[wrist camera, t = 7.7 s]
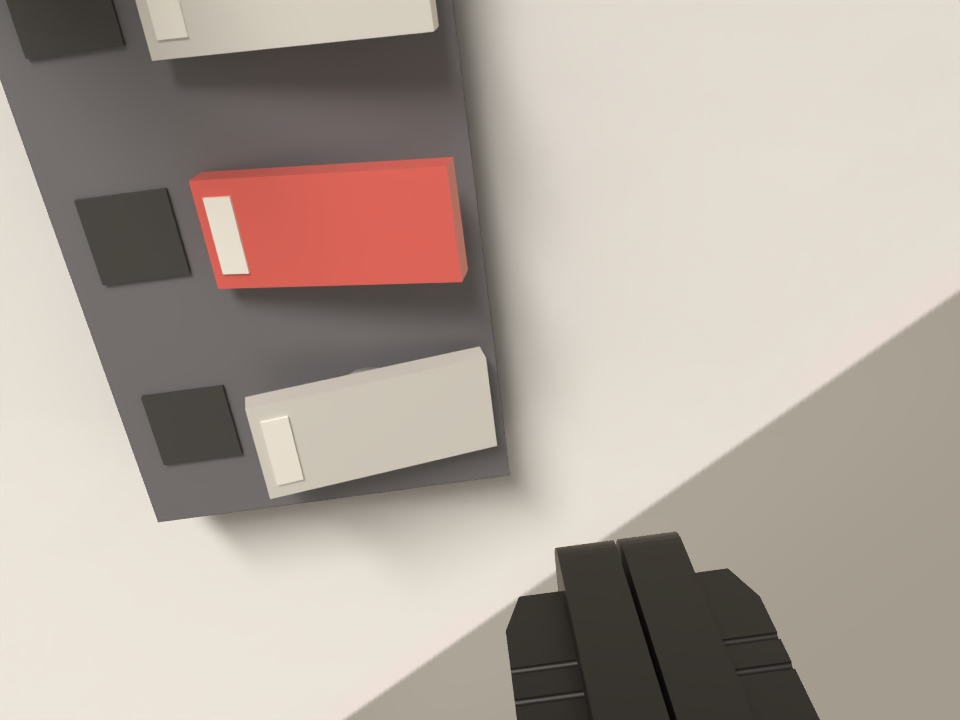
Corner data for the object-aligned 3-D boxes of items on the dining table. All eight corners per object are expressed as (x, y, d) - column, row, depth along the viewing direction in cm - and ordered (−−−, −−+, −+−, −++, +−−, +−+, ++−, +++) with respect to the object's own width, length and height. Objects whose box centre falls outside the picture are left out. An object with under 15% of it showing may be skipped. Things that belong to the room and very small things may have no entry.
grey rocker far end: (475, 338, 36) (486, 358, 34) (486, 424, 37) (497, 447, 36) (244, 388, 34) (245, 411, 33) (268, 474, 36) (270, 500, 34)
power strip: (424, -207, 30) (426, -220, 26) (501, 425, 42) (510, 478, 38) (-25, -150, 30) (-86, -154, 26) (179, 468, 42) (157, 525, 38)
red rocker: (457, 150, 30) (445, 167, 28) (471, 262, 32) (461, 283, 30) (210, 165, 32) (187, 182, 30) (238, 269, 34) (216, 290, 32)
